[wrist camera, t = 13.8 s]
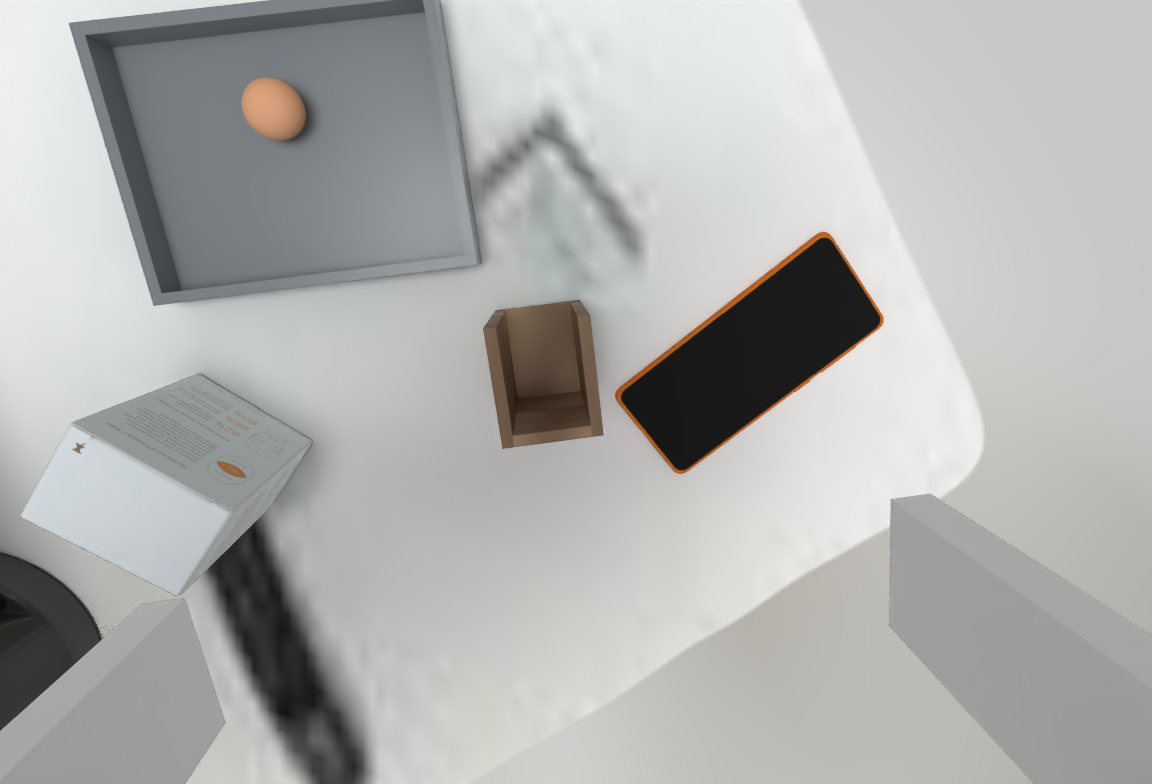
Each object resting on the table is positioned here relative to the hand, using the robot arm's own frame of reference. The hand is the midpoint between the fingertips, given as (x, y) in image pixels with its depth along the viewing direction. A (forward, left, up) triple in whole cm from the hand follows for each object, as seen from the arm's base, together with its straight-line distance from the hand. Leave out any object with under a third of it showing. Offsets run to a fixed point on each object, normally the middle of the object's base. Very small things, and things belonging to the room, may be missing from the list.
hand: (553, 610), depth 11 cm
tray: (-12, +13, -27) cm, 32 cm away
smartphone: (+13, -2, -27) cm, 30 cm away
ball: (-12, +17, -25) cm, 32 cm away
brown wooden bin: (0, 0, -27) cm, 27 cm away
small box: (-20, -3, -27) cm, 34 cm away
